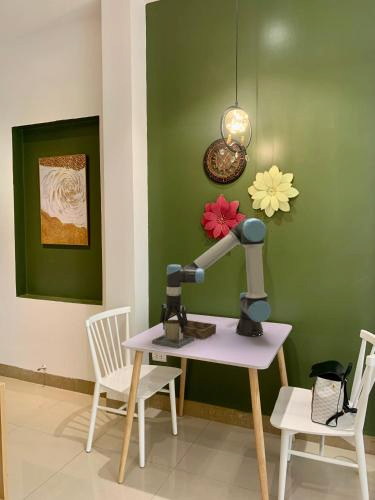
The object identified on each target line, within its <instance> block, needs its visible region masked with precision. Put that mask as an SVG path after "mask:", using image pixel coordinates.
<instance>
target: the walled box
mask: <svg viewBox="0 0 375 500" xmlns="http://www.w3.org/2000/svg"><path fill="white" fill-rule="evenodd" d="M187 322H188V325H187V326H184V333H183V335H185V336H191V337H194V339H199V340H202V341H204V340H206V339H208V338H210V337H212V336H214V335H216V334H217V324H216V323H210V322H204V321H198V320H197V321H196V320H191V319H190V320H189V319H187Z"/></svg>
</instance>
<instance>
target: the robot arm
mask: <svg viewBox="0 0 375 500" xmlns="http://www.w3.org/2000/svg"><path fill="white" fill-rule="evenodd" d="M266 227H267V226H266V224H265V223H264V222H263V221H262V220H261V219H258V218H255V217H253V218H244V219H243V220H241V221H239V222H238V223H236V225H235V226H234V227H232V228H231V229H230V230H229V231H228V234H226V235H225V236H224V237H223V238H222V239H220V240H219V241H218V242H216V243H215V244H214V245H213V246H212V247H210V248H209V249H208V250H207V251H204V252H203V254H201V255H200V256H198V257H197V258H196V259H195V260H194V261H192V262H191V263H189V264H187V265H186V266H184V267H183V268H182V265H181V264H174V263H173V264H168V265H167V266H166V291H165V292H166V303H162V304H161V305H160V306H161V313H160V319H159V323H161V324H162V330H163V333H164V334H163V335H164V337H167V330H166V325H165V321H168V320H170V317H171V315H172V313H174V314H175V315H176V317H177V320H178V321H179V324H180V327H179V340H180V339H182V338H183V333H184V326H187V325H188V322H187V320H188V317H187V306H186V305H185V306H183V305H182V304H181V302H182V284H203V283H204V282H205V270H206V269H208V268H209V267H210V266H211V265H213V264H215V262H217V261H218V260H220V258H221V257H223V256H224V255H226V254H227V253H228V252H230V251H231V250H233V249H234V248H235V247H236V246H237V245H239V246H240V245H241V246H243V248H244V249H245V250H244V251H245V252H244V254H245V265H246V266H245V267H246V268H245V269H246V282H247V283H246V284H247V292H241V293H239V319H238V322H237V324H236V328H235V329H236V330H235V333H237V334H238V335H240V336H244V335H246V336H245V337H253V336H252V335H259V334H262V333H263V334H264V328H263V324H262V322H265V321H267V319H269V318H270V316H271V313H272V309H271V306H270V304H269V301H268V300H269V299H268V297H269V296H268V294H267V293H266V292H265V284H264V283H265V282H264V280H265V279H264V264H263V249H262V248H263V246H264V245H265V237H266V234H267V228H266ZM263 334H262V335H263ZM259 336H260V335H259Z"/></svg>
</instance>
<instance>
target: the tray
mask: <svg viewBox="0 0 375 500" xmlns="http://www.w3.org/2000/svg"><path fill="white" fill-rule="evenodd" d="M193 341H195V338H194V337H191V336H185V335H183V338H182V339H180V340H179V339H173V340H171V339H168V338H167V337H164V334H163V335H161V336H158V337H156V338H153V339H151V344H155V345H159V346H164V347H169V348H175V349H180V348H182V347H184V346H186V345H188V344H190V343H191V342H193Z"/></svg>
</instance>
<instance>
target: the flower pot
mask: <svg viewBox="0 0 375 500" xmlns="http://www.w3.org/2000/svg"><path fill="white" fill-rule="evenodd" d="M165 325H166V330H167V338H168V339H171V340H173V339H179V327H180V324H179V321H178V319H168V321H165Z"/></svg>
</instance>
